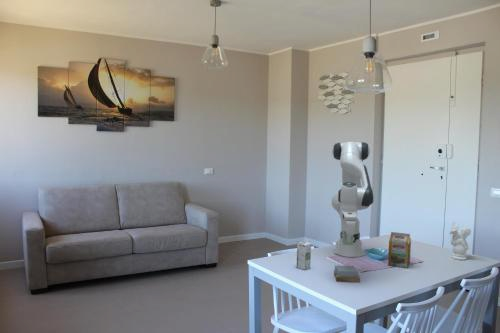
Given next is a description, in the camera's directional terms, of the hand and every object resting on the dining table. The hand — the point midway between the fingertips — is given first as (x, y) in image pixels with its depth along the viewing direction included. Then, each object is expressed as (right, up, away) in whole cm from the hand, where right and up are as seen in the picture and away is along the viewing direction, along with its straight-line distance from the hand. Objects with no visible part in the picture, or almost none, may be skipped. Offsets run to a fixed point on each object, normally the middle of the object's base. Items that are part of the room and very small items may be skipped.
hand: (347, 239), depth 233 cm
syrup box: (-21, -19, +18) cm, 34 cm away
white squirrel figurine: (+76, -19, +41) cm, 89 cm away
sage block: (0, -2, 0) cm, 2 cm away
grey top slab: (0, -18, +1) cm, 18 cm away
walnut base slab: (0, -21, +2) cm, 21 cm away
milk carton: (+36, -19, +27) cm, 49 cm away
